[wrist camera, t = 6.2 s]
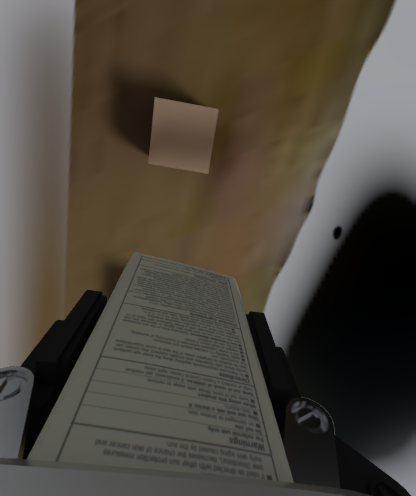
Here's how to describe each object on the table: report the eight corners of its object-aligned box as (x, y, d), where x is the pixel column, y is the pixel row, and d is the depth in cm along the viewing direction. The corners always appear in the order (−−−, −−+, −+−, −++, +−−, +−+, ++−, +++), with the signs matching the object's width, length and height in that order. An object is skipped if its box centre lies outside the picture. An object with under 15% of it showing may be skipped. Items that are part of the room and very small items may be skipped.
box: (114, 325, 15) (-89, 771, 4) (133, 247, 13) (-103, 637, 3) (215, 349, 15) (245, 788, 5) (243, 277, 14) (364, 684, 4)
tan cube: (162, 105, 28) (154, 97, 23) (215, 114, 28) (218, 109, 23) (156, 160, 29) (148, 163, 25) (206, 168, 30) (208, 173, 25)
